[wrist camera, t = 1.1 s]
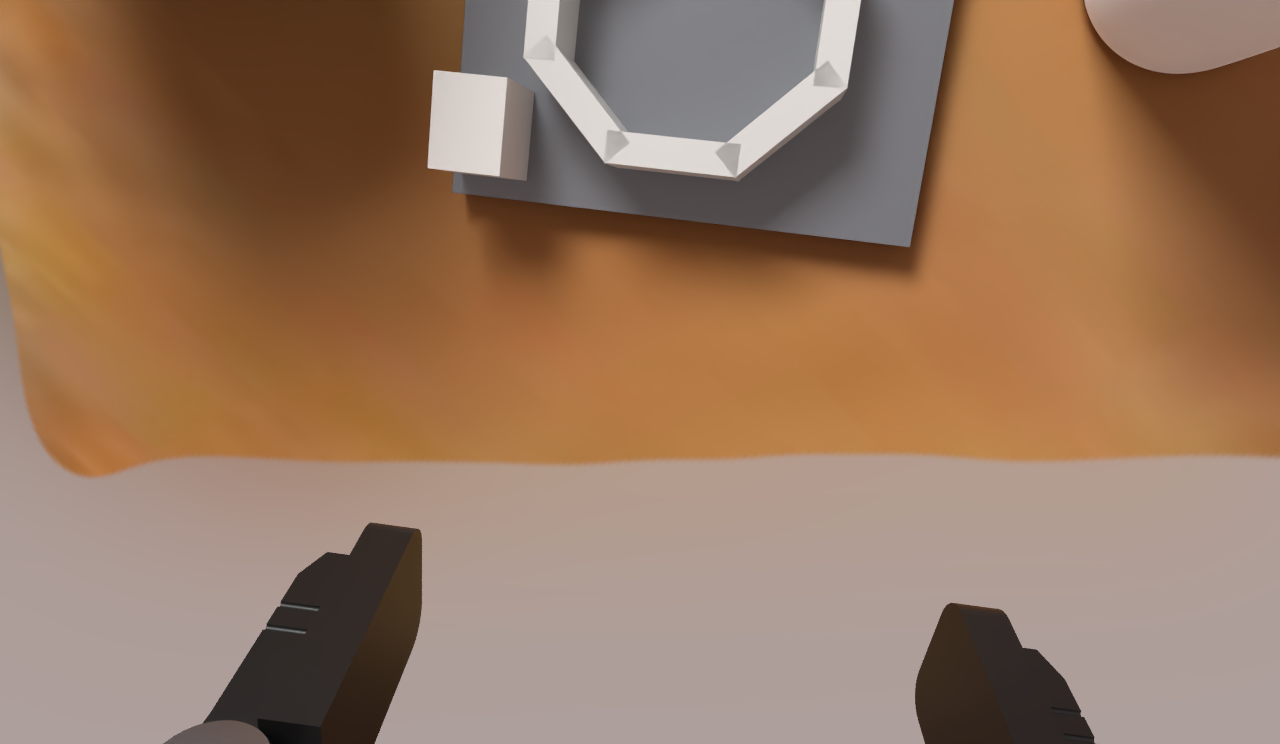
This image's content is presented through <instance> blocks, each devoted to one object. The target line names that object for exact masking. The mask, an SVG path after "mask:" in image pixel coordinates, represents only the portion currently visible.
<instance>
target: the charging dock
mask: <svg viewBox="0 0 1280 744" xmlns="http://www.w3.org/2000/svg"><path fill="white" fill-rule="evenodd" d="M953 3H954V0H466V1H465V16H464V30H463V45H462V59H461V73H458V72H448V71H438V70H434V73H433V89H432V105H431V120H430V136H429V152H428V168H430V169H437V170H443V171H450V172H454V175H453V189H452V192H453V193H461V194H470V195H478V196H486V197H495V198H503V199H511V200H520V201H528V202H536V203H545V204H553V205H562V206H570V207H578V208H587V209H595V210H603V211H612V212H620V213H628V214H637V215H645V216H653V217H662V218H670V219H678V220H687V221H695V222H704V223H712V224H720V225H729V226H737V227H745V228H754V229H762V230H770V231H779V232H787V233H795V234H804V235H812V236H820V237H829V238H837V239H846V240H854V241H862V242H871V243H879V244H887V245H896V246H904V247H910V244H911V238H912V232H913V227H914V221H915V216H916V210H917V204H918V199H919V193H920V188H921V182H922V177H923V171H924V165H925V160H926V154H927V149H928V143H929V137H930V132H931V126H932V121H933V115H934V110H935V104H936V98H937V93H938V87H939V82H940V76H941V70H942V65H943V59H944V54H945V48H946V43H947V37H948V31H949V26H950V20H951V15H952V9H953Z"/></svg>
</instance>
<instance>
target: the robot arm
mask: <svg viewBox="0 0 1280 744" xmlns="http://www.w3.org/2000/svg"><path fill="white" fill-rule="evenodd" d="M421 607H422V537H421V532H420V530H419V529H414V528H407V527H399V526H392V525H385V524H377V523H369V524H368V525H367V526H366V527H365V529H364V531H363V532H362V534H361V536H360V538H359V540H358V542H357V543H356V545H355V547H354V548H353V550H352V552H351V553H350V555H345V554H337V553H330V552H327V553H326V554H324V555H323V556H322V557H320V558H319V559H318V560H316V561H315V562H313V563H312V564H311V565H310V566H308V567H307V568H305V569H304V570H303V571H302V572H300V573H299V574H298V575H297V577H296V578H295V580H294V581H293V583H292V585H291V586H290V588H289V589H288V591H287V593H286V594H285V596H284V597H283V599H282V600H281V605H280V607H277V608H276V610H275V612H274V613H273V615H272V616H271V618H270V619H269V621H268V623H267V626H266V629H265V630H262V632H261V634H260V635H259V637H258V638H257V640H256V642H255V643H254V645H253V646H252V648H251V649H250V651H249V653H248V654H247V656H246V658H245V659H244V661H243V662H242V664H241V665H240V667H239V668H238V670H237V672H236V673H235V675H234V676H233V678H232V679H231V681H230V683H229V684H228V686H227V687H226V689H225V691H224V692H223V694H222V695H221V697H220V698H219V700H218V702H217V703H216V705H215V707H214V708H213V710H212V711H211V713H210V714H209V716H208V717H207V718H206V720H205V721H204V722H203V724H200V725H197V726H194V727H191V728H189V729H187V730H184V731H182V732H181V733H179V734H177V735H175V736H173V737H172V738H171V739H169V740H168V741H167V742H165V743H164V744H374V743H375V741H376V738H377V736H378V733H379V731H380V728H381V726H382V723H383V721H384V718H385V716H386V713H387V711H388V709H389V706H390V703H391V701H392V698H393V696H394V694H395V691H396V688H397V686H398V683H399V681H400V679H401V676H402V673H403V671H404V668H405V666H406V664H407V661H408V659H409V656H410V654H411V651H412V648H413V646H414V643H415V640H416V636H417V632H418V627H419V623H420V616H421ZM915 704H916V712H917V717H918V721H919V724H920V727H921V731H922V734H923V738H924V741H925V744H1095V743H1094V736H1093V734H1092V732H1091V730H1090V728H1089V726H1088V724H1087V722H1086V720H1085V718H1084V717H1081V715H1080V713H1081V710H1080V708H1079V706H1078V704H1077V703H1076V700H1075V698H1074V697H1073V695H1072V693H1071V691H1070V689H1069V687H1068V685H1067V683H1066V681H1065V679H1064V678H1063V677H1062V676H1061V675H1060V674H1059V673H1058V672H1057V671H1056V670H1055V668H1053V666H1052V665H1051V664H1050V663H1049V662H1048V661H1047V660H1046V659H1045V658H1044V657H1043V656H1042V655H1041V654H1040V653H1039V652H1038V651H1037V650H1035V649H1027V648H1022V646H1021V644H1020V642H1019V640H1018V637H1017V635H1016V633H1015V631H1014V629H1013V627H1012V625H1011V623H1010V620H1009V619H1008V617H1007V615H1006V614H1005V613H1004V612H1003V611H1002V610H999V609H993V608H986V607H979V606H971V605H964V604H956V603H950V604H948V605H947V606H946V607H945V608H944V610H943V612H942V614H941V617H940V619H939V622H938V624H937V627H936V629H935V632H934V635H933V637H932V640H931V642H930V645H929V647H928V650H927V652H926V655H925V658H924V660H923V663H922V665H921V668H920V670H919V673H918V677H917V681H916V690H915Z"/></svg>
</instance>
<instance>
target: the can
mask: <svg viewBox="0 0 1280 744" xmlns="http://www.w3.org/2000/svg"><path fill="white" fill-rule="evenodd" d="M1084 2H1085V6H1086V10H1087V13H1088V15H1089V18H1090V20H1091V22H1092V24H1093V26H1094V28H1095V30H1096V31H1097V33H1098V34H1099V36H1100V37H1101V38H1102V40H1103V41H1104V42H1105V43H1106V44H1107V45H1108V46H1109V47H1110V48H1111V49H1112V50H1113V51H1114V52H1115V53H1117V54H1118V55H1119V56H1121V57H1122V58H1124V59H1125V60H1127V61H1129V62H1131V63H1132V64H1135V65H1137V66H1139V67H1142V68H1145V69H1148V70H1151V71H1156V72H1161V73H1170V74H1186V73H1196V72H1201V71H1206V70H1211V69H1214V68H1218V67H1221V66H1224V65H1228V64H1231V63H1234V62H1237V61H1240V60H1243V59H1246V58H1249V57H1252V56H1255V55H1258V54H1261V53H1264V52H1267V51H1270V50H1273V49H1276V48H1279V47H1280V0H1084Z"/></svg>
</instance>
